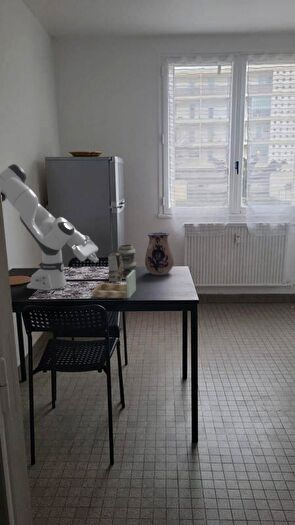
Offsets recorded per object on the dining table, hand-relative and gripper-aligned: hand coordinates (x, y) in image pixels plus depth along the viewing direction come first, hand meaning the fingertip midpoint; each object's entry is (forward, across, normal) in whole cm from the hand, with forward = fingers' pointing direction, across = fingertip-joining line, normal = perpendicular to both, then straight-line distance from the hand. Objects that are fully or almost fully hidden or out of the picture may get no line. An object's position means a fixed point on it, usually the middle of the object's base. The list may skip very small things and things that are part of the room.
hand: (97, 261), depth 210 cm
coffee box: (+14, +26, +12) cm, 32 cm away
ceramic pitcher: (+30, +46, -4) cm, 55 cm away
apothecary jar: (+15, +43, +10) cm, 47 cm away
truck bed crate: (+18, 0, +7) cm, 20 cm away
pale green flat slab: (+25, 0, -1) cm, 25 cm away
